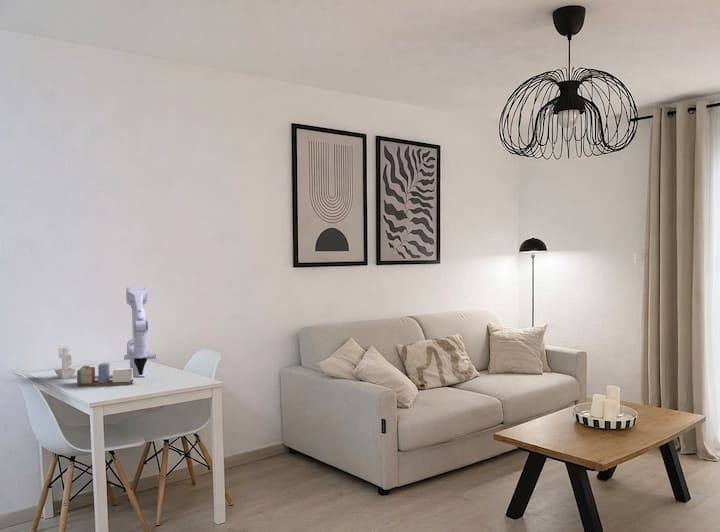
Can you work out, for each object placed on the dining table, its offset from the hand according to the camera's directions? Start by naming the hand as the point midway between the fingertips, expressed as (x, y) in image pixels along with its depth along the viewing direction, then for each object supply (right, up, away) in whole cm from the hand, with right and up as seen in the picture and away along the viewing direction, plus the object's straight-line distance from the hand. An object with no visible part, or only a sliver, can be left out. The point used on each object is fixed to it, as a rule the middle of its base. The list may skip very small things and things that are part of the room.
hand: (140, 374), depth 291 cm
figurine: (-41, -4, +11) cm, 42 cm away
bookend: (-8, -3, -1) cm, 8 cm away
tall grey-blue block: (-16, -3, -2) cm, 17 cm away
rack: (-16, -4, -2) cm, 17 cm away
